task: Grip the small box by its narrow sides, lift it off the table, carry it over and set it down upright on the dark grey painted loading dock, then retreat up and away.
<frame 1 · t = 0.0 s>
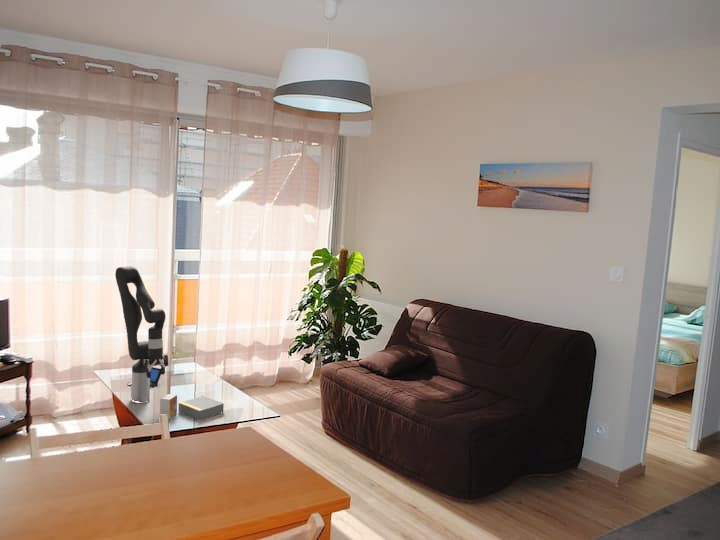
hand: (155, 376, 325), 17 cm above the table, tool pointing down, fingers open, 8 cm apart
small box: (168, 416, 315), on the table
laptop: (144, 384, 363), on the table
loading dock: (201, 412, 323), on the table
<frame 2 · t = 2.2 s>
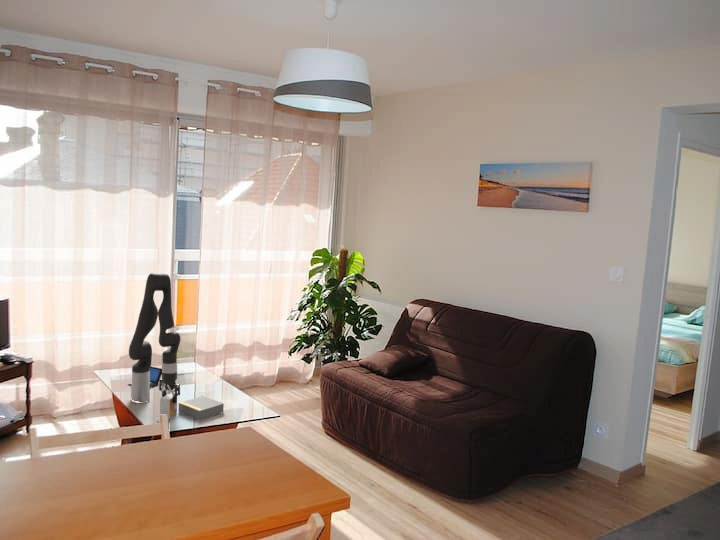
hand: (169, 401, 314), 8 cm above the table, tool pointing down, fingers open, 8 cm apart
small box: (168, 416, 315), on the table, touching gripper
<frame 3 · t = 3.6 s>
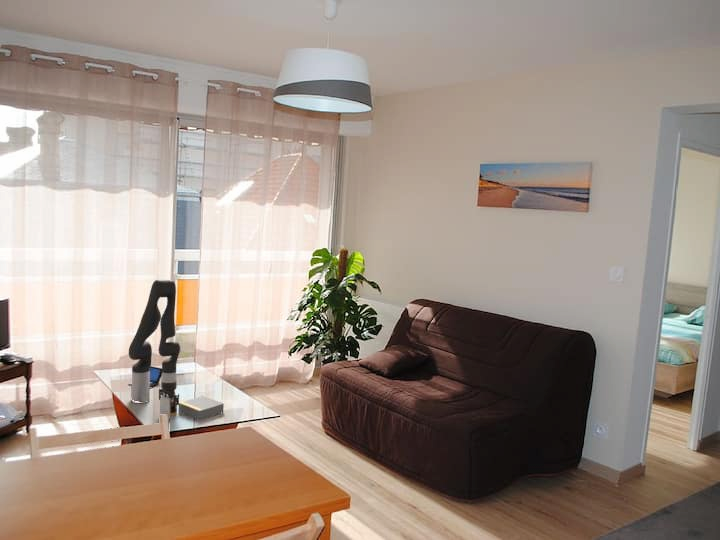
hand: (168, 410, 315), 3 cm above the table, tool pointing down, fingers closed on small box, 7 cm apart
small box: (168, 416, 315), on the table, touching gripper
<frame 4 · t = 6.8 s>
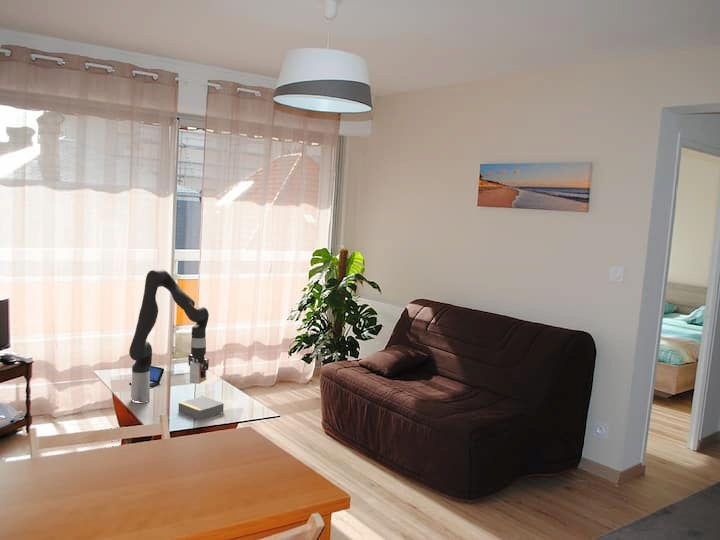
hand: (198, 376, 319), 20 cm above the table, tool pointing down, fingers closed on small box, 7 cm apart
small box: (198, 381, 319), point 17 cm above the table, touching gripper
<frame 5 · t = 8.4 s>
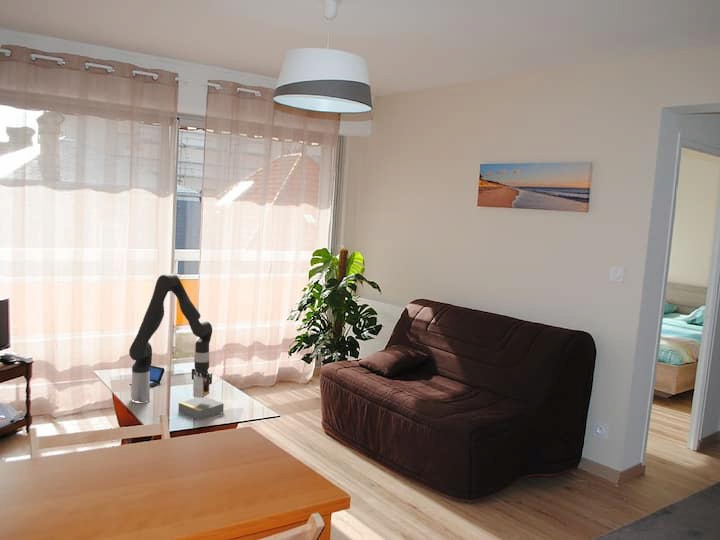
hand: (201, 389, 321), 12 cm above the table, tool pointing down, fingers closed on small box, 7 cm apart
small box: (201, 395, 322), point 9 cm above the table, touching gripper
when the fingers open (9 cm above the table, at t = 10.0 s): small box drops 1 cm, resting on loading dock.
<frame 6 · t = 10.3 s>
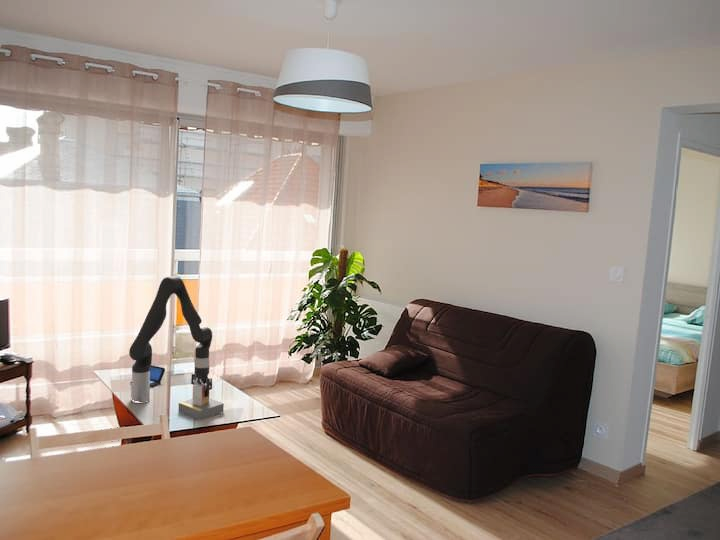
hand: (201, 394, 322), 10 cm above the table, tool pointing down, fingers open, 8 cm apart
small box: (200, 403, 322), point 5 cm above the table, touching loading dock
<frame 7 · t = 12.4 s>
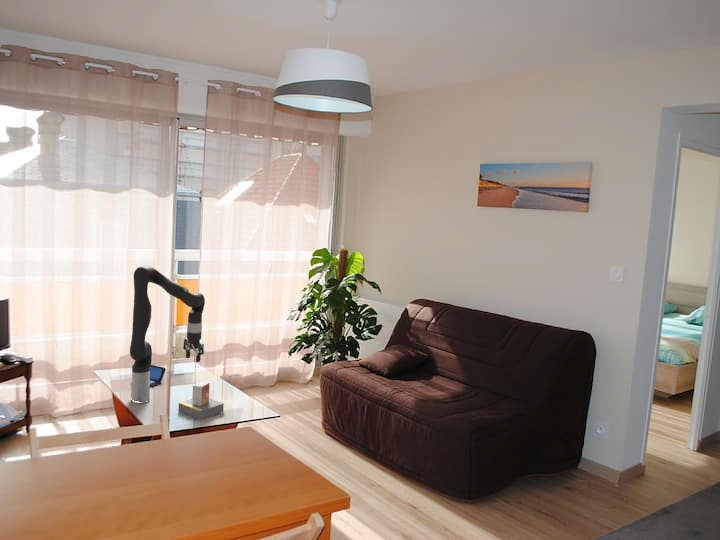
hand: (192, 359, 326), 26 cm above the table, tool pointing down, fingers open, 8 cm apart
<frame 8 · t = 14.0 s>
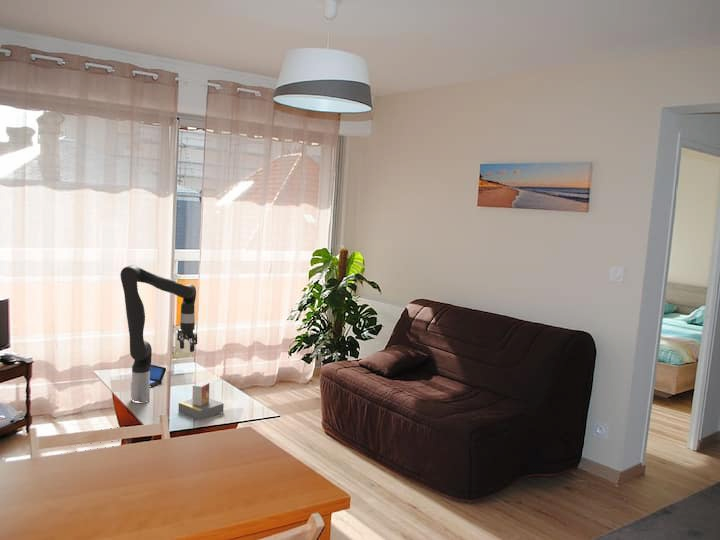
hand: (187, 350, 331), 30 cm above the table, tool pointing down, fingers open, 8 cm apart
at the end: small box inside the target area on the loading dock (0.2 cm from its centre), point 4.8 cm above the loading dock's base; small box tilted 0°; the gripper is holding nothing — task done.
